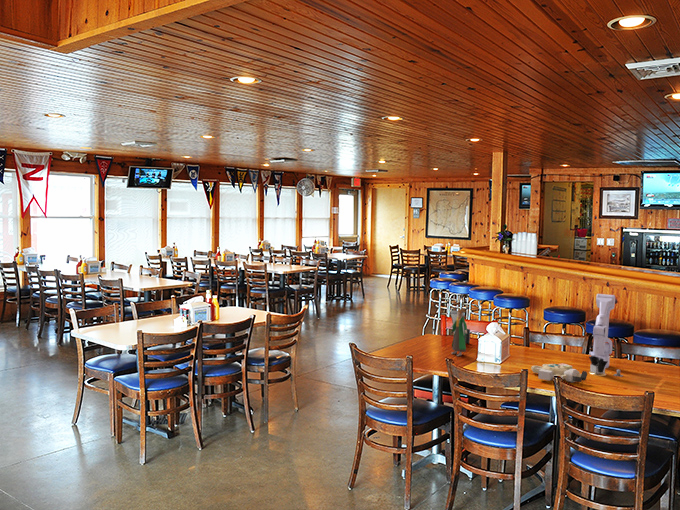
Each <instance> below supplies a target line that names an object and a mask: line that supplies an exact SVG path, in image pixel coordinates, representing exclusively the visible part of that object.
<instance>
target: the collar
mask: <svg viewBox="0 0 680 510" xmlns="http://www.w3.org/2000/svg"><path fill="white" fill-rule="evenodd" d="M590 371H591V372H593V373H595V374H605V373H606V368H605V367H604V370H603V372H599V370H598V364H591V363H590ZM590 371H589V372H590Z"/></svg>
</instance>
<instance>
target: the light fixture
mask: <svg viewBox="0 0 680 510" xmlns="http://www.w3.org/2000/svg"><path fill="white" fill-rule="evenodd" d="M457 311H458V310H450V312H449V314H450V318H451V320H452V325H453V324H454V323H455V321H456V317H457ZM462 313H464V312H462ZM462 317H463V318H464V320H465V321H466V319H465V315H464V314H463V316H462ZM454 333H455V331H454V332H453V338H454ZM463 333H464V339H465V345H467V344H470V343H471V342H470V340H471V329H469V328H467V334H466V337H465V328H464V323H463Z"/></svg>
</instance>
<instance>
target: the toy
mask: <svg viewBox="0 0 680 510" xmlns="http://www.w3.org/2000/svg"><path fill="white" fill-rule="evenodd" d="M531 371H532V372H533V373H535V374H538V378H537V379H539V380H544V381H554V380H553V377H554V376H560V377H561V378H562V379H563V380H562V381H564V380H565V381H566V382H569V383H575V382H578V383H582V381H586V379H587V376H588V373H587V371H585V370H582V371H581V372H582V373H580V371H578V370H577V369H575V368H573V365H569V364H567V363H548V364H547V363H544V364H542V365H532V366H531Z"/></svg>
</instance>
